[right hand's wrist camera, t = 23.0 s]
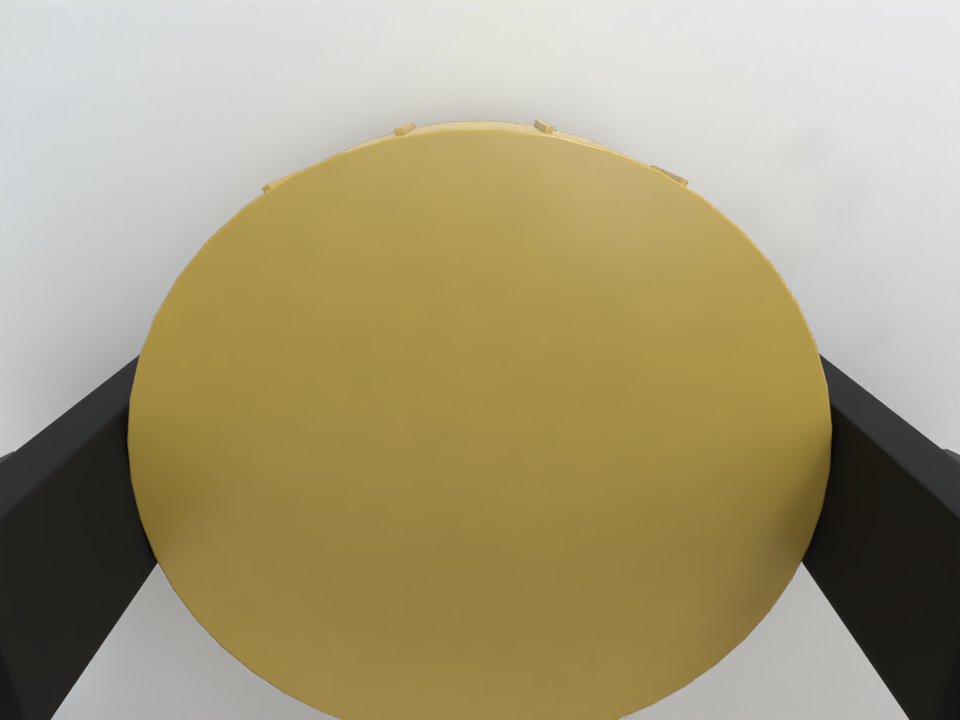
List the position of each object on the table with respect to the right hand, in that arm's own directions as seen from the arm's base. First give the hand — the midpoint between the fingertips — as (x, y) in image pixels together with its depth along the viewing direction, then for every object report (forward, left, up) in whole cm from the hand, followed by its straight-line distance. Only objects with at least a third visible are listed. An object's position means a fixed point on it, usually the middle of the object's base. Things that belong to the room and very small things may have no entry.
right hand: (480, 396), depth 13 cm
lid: (0, 0, +3) cm, 3 cm away
